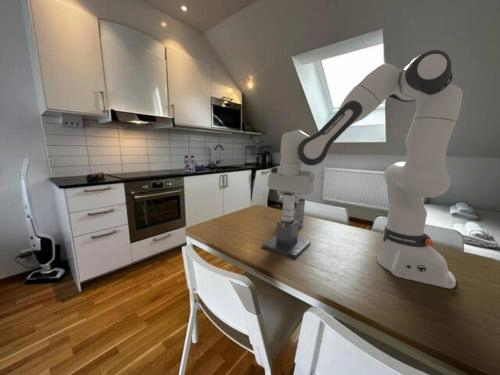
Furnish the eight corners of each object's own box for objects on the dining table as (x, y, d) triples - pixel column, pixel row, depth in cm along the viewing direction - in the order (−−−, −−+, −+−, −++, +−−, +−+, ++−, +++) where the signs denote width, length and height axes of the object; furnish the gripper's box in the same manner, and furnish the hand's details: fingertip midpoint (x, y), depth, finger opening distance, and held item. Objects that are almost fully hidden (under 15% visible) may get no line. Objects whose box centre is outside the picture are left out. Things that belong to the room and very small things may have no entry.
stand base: (310, 244, 94) (312, 220, 92) (295, 258, 82) (297, 230, 79) (279, 235, 104) (280, 213, 102) (262, 247, 91) (262, 221, 89)
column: (292, 241, 93) (295, 192, 89) (288, 244, 90) (291, 194, 85) (285, 239, 95) (287, 191, 91) (280, 242, 92) (282, 192, 88)
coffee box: (285, 222, 122) (286, 196, 119) (293, 221, 125) (295, 195, 122) (294, 228, 114) (295, 200, 111) (303, 226, 116) (305, 199, 114)
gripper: (317, 171, 83) (314, 204, 85) (273, 167, 95) (272, 196, 97) (311, 172, 78) (309, 207, 80) (266, 168, 90) (265, 199, 92)
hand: (288, 201), depth 89 cm, fingers open, 6 cm apart
